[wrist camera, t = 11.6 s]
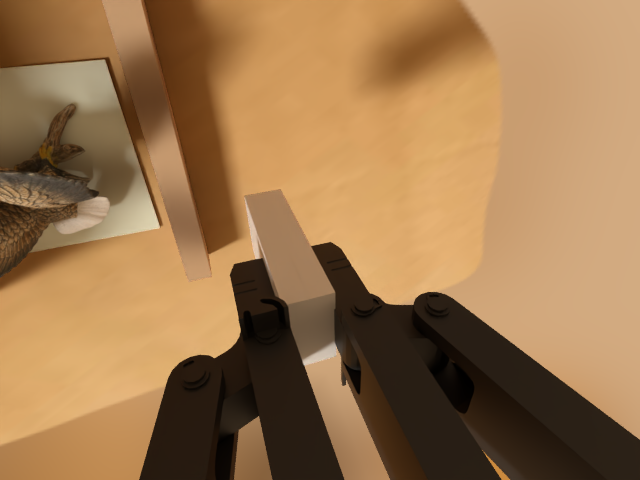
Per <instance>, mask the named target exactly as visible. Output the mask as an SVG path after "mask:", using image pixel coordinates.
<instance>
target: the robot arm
mask: <svg viewBox="0 0 640 480" xmlns="http://www.w3.org/2000/svg"><path fill="white" fill-rule="evenodd" d="M244 198H245V204H246V210H247V216H248V222H249V228H250V234H251V240H252V246H253V251H254V254H255V257H256V259H255V260H251V261H246V262H241V263H237V264H234V266H233V268H232V271H231V273H230V277H231V282H232V287H233V292H234V297H235V301H236V306H237V311H238V316H239V323H240V328H241V333H240V336H239V339H238V340H237V342H236V343H235V344H234V345H233V347H232V348H231V349H229V350H228V351H226V352H225V353H223V354H221V355H220V356H218V357H216V358H213V357H211V356H208V355H197V356H193V357H189V358H187V359H186V360H184V361H182V362H180V363H179V364H178V365H177V366H176V367H175V368H174V369H173V370H172V372H171V374H170V376H169V378H168V380H167V384H166V387H165V391H164V395H163V398H162V401H161V405H160V409H159V412H158V416H157V419H156V423H155V426H154V430H153V433H152V437H151V440H150V444H149V447H148V451H147V454H146V458H145V461H144V465H143V468H142V472H141V476H140V479H139V480H234V472H235V462H236V452H237V442H238V431H239V429H241V428H242V427H243V426H245V425H246V424H248V423H249V422H251V421H252V420H253V419H255V418H256V417H258V416H259V417H260V422H261V427H262V432H263V437H264V441H265V446H266V451H267V455H268V460H269V465H270V470H271V475H272V479H273V480H344V477H343V474H342V472H341V469H340V466H339V463H338V460H337V458H336V455H335V452H334V449H333V446H332V443H331V440H330V438H329V435H328V432H327V429H326V426H325V423H324V421H323V418H322V415H321V412H320V409H319V406H318V404H317V401H316V398H315V395H314V392H313V389H312V387H311V384H310V381H309V378H308V376H307V372H306V370H305V367H304V366H305V365H308V364H311V363H315V362H318V361H322V360H325V359H328V358H332V357H335V356H336V346H337V349H338V351H339V353H340V355H341V380H342V385H343V386H344V385H346V380H347V382H348V384H349V387H350V388H351V391H352V393H353V396H354V398H355V400H356V403H357V405H358V407H359V409H360V411H361V414H362V416H363V418H364V421H365V423H366V425H367V428H368V430H369V432H370V434H371V437H372V439H373V441H374V444H375V446H376V448H377V450H378V453H379V455H380V457H381V460H382V462H383V464H384V466H385V468H386V471H387V473H388V475H389V478H390V480H501V478H500V477H499V475H498V474H497V472H496V471H495V469H494V468H493V466H492V465H491V463H490V461H489V460H488V458H487V457H486V455H485V454H484V452H485V453H486V454H487V456H488V457H489V458H490V459H491V460H492V461H493V462H494V463H495V464H496V465H497V466H498V467H499V468H500V469H501V470H502V471H503V472H504V473H505V474H506V475H507V476H508V478H509V479H510V480H640V440H639V439H638V438H637V437H635V436H634V435H632V434H631V433H630V432H629V431H627V430H626V429H625V428H623V427H622V426H621V425H619V424H618V423H617V422H615V421H614V420H613V419H611V418H610V417H608V415H606V414H605V413H604V412H602V411H601V410H600V409H598V408H597V407H596V406H594V405H593V404H592V403H590V402H589V401H588V400H586V399H585V398H584V397H582V396H581V395H580V394H578V393H577V392H576V391H574V390H573V389H572V388H570V387H569V386H568V385H566V384H565V383H564V382H563V381H561V380H560V379H559V378H557V377H556V376H555V375H553V374H552V373H551V372H549V371H548V370H547V369H545V368H544V367H543V366H541V365H540V364H539V363H537V362H536V361H535V360H533V359H532V358H531V357H530V356H528V355H527V354H525V353H524V352H523V351H522V350H520V349H519V348H517V347H516V346H515V345H514V344H512V343H511V342H510V341H508V340H507V339H506V338H504V337H503V336H502V335H500V334H499V333H498V332H496V331H495V330H494V329H492V328H491V327H490V326H489V325H487V324H486V323H484V322H483V321H482V320H481V319H479V318H478V317H477V316H475V315H474V314H473V313H471V312H470V311H469V310H467V309H466V308H465V307H463V306H462V305H461V304H459V303H458V302H457V301H455V300H454V299H453V298H451V297H449V296H447V295H445V294H442V293H438V292H427V293H424V294H421V295H419V296H418V297H417V298H416V299H415V302H414V305H391V304H386V303H385V302H384V301H382V300H381V299H380V298H379V297H378V296H375V295H373V294H370V293H369V292H368V290H367V289H366V287H365V286H364V284H363V282H362V281H361V279H360V278H359V276H358V275H357V273H356V271H355V270H354V268H353V267H352V266H351V264H350V262H349V260H348V259H347V257H346V256H345V254H344V253H343V251H342V249H341V248H339V247H338V246H336V245H335V244H333V243H331V242H329V243H324V244H320V245H315V246H310V244H309V242H308V240H307V238H306V236H305V234H304V232H303V231H302V229H301V227H300V225H299V223H298V221H297V219H296V217H295V215H294V214H293V212H292V210H291V208H290V206H289V204H288V202H287V200H286V198H285V197H284V195H283V193H282V191H281V189H279V190H274V191H268V192H262V193H257V194H251V195H245V196H244ZM482 450H483V451H484V452H483V451H482Z"/></svg>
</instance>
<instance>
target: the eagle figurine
mask: <svg viewBox="0 0 640 480" xmlns="http://www.w3.org/2000/svg"><path fill="white" fill-rule="evenodd" d="M75 110H76V106H75V105H74V104H70V105H68V106H67V107H65V108H64V109H63V110H62V111H60V112H59V113H58V114H57V115H56V116H55V117H54V118H53V120H52V122H51V124H50V127H49V129H48V134H47V137H46V138H45V140H44V142H43V144H42V145H41V146H40V148H39V151H37V152H36V153H35V154H34V155H33V156H32V157H31V158H30V159H29V160H26V161H23V162H22V163H21V164H17V165H15V166H14V169H9V168H5V167H0V277H2V276H3V275H4V274H6V273H8V272H10V271H11V269H12V268H13V267H16V266H17V265H18V264H19V263H20V262H21V261H22V259H24V258H25V257H26V256H27V254H28V253H29V252H30V251H31V250H32V249H33V247H34V246H35V245H36V244H37V242H38V239H39V238H40V237H41V236H42V234H43V231H44V230H45V229H47V228H48V226H49V224H50V223H53V225H54V226H55V228H56V229H57V231H58V232H60V233H61V234H72V233H75V232H77V231H80V230H83V229H86V228H91V227H93V226H94V225H96V224H99V223H100V222H102V221H103V220H104V218H105V217H106V216H107V215H108V212H109V208H110V201H109V198H108V197H106V196H98V195H99V191H96V190H93V189H92V190H91V189H89V187H87V183H89V182H90V178H83V177H79V176H76V175H73V174H70V173H68V172H66V171H65V170H63V169H57V167H58V163H62V162H65V161H68V160H71V159H73V158H74V157H76V156H78V155H80V154H82V153H84V152H85V150H84V149H83V148H82V147H81V146H78V145H75V144H63V145H60V139H61V136H62V133H63V131H64V128H65V126H66V124H67V121H68V120H69V119H70V118H71V117H72V116H73V114H74V112H75Z"/></svg>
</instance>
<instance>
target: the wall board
mask: <svg viewBox="0 0 640 480" xmlns="http://www.w3.org/2000/svg"><path fill="white" fill-rule="evenodd" d="M102 3H103V6H104V9H105V12H106V16H107V19H108V22H109V25H110V29H111V32H112V35H113V38H114V42H115V45H116V48H117V51H118V55H119V58H120V61H121V64H122V68H123V71H124V74H125V77H126V81H127V84H128V87H129V90H130V94H131V97H132V100H133V103H134V107H135V110H136V113H137V116H138V120H139V123H140V126H141V129H142V133H143V136H144V139H145V142H146V146H147V149H148V152H149V155H150V159H151V162H152V165H153V168H154V172H155V175H156V178H157V181H158V185H159V188H160V191H161V194H162V198H163V201H164V204H165V207H166V211H167V214H168V217H169V220H170V224H171V227H172V230H173V233H174V237H175V240H176V243H177V246H178V250H179V253H180V256H181V259H182V263H183V266H184V269H185V272H186V276H187V279H188V282H191V281H196V280H200V279H204V278H209V277H212V274H211V267H210V261H209V255H208V251H207V247H206V243H205V239H204V235H203V231H202V227H201V223H200V219H199V215H198V211H197V207H196V203H195V199H194V195H193V191H192V187H191V183H190V179H189V176H188V172H187V168H186V164H185V160H184V156H183V152H182V148H181V144H180V140H179V136H178V132H177V128H176V124H175V120H174V116H173V112H172V108H171V104H170V100H169V96H168V93H167V89H166V85H165V81H164V77H163V73H162V69H161V65H160V61H159V57H158V53H157V49H156V45H155V41H154V37H153V33H152V29H151V25H150V21H149V17H148V14H147V10H146V6H145V2H144V0H102ZM70 104H74V105H75V106H76V110H75V112H74V114H73V116H72V117H71V118H70V119H69V120H68V121H67V124H66V126H65V128H64V131H63V133H62V136H61V139H60V145H63V144H75V145H78V146H81V147H82V148H83V149H84V150H85V152H84V153H82V154H80V155H78V156H76V157H74V158H73V159H71V160H68V161H65V162H62V163H58V167H57V169H63V170H65V171H66V172H68V173H70V174H73V175H76V176H79V177H83V178H90V182H89V183H87V187H89V189H91V190H92V189H93V190H96V191H99V195H98V196H106V197H108V198H109V201H110V208H109V212H108V215H107V216H106V217H105V218H104V220H103V221H102V222H100V223H99V224H96V225H94V226H93V227H91V228H86V229H83V230H80V231H77V232H75V233H72V234H61V233H60V232H58V231H57V229H56V228H55V226H54V225H53V223H50V224H49V226H48V228H47V229H45V230H44V231H43V234H42V236H41V237H40V238H39V239H38V242H37V244H36V245H35V246H34V247H33V249H32V250H31V251H30V252H29V253H31V252H36V251H42V250H47V249H52V248H57V247H63V246H68V245H73V244H79V243H84V242H89V241H94V240H100V239H105V238H110V237H115V236H121V235H126V234H131V233H136V232H142V231H147V230H152V229H158V228H160V225H159V222H158V219H157V216H156V213H155V210H154V207H153V204H152V200H151V197H150V194H149V191H148V188H147V185H146V182H145V179H144V176H143V173H142V170H141V167H140V164H139V161H138V158H137V155H136V152H135V149H134V146H133V143H132V140H131V137H130V133H129V130H128V127H127V124H126V121H125V118H124V115H123V112H122V109H121V106H120V103H119V100H118V97H117V94H116V91H115V88H114V85H113V82H112V79H111V76H110V73H109V70H108V67H107V63H106V60H105V59H101V60H90V61H78V62H67V63H55V64H44V65H32V66H20V67H9V68H0V167H5V168H9V169H14V166H15V165H17V164H21V163H22V162H23V161H26V160H29V159H30V158H31V157H32V156H33V155H34V154H35V153H36V152H37V151H39V148H40V146H41V145H42V144H43V142H44V140H45V138H46V137H47V134H48V129H49V127H50V124H51V122H52V120H53V118H54V117H55V116H56V115H57V114H58V113H59V112H60V111H62V110H63V109H64V108H65V107H67V106H68V105H70Z"/></svg>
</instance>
